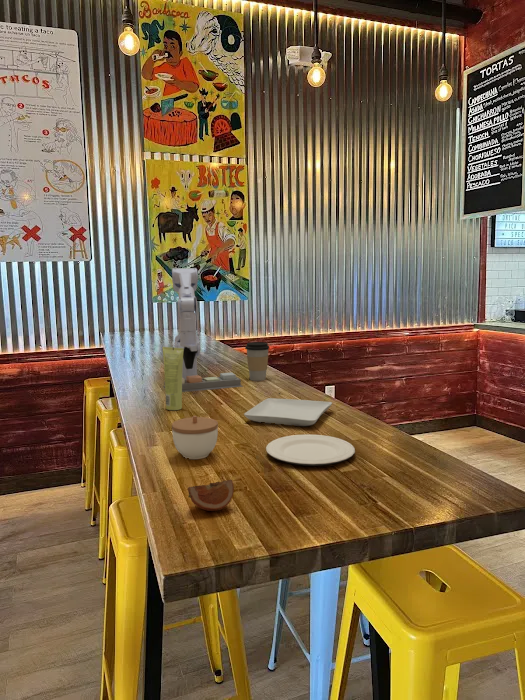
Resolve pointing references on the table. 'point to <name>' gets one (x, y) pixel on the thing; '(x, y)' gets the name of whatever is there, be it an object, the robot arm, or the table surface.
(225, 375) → the key slate
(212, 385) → the grey flat slotted tray
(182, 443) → the lidded jar
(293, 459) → the plate
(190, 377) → the key terracotta
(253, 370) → the coffee cup
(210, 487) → the fruit slice
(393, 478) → the table surface
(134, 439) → the table surface
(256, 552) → the table surface
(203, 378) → the key sage
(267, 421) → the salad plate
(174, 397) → the tube
